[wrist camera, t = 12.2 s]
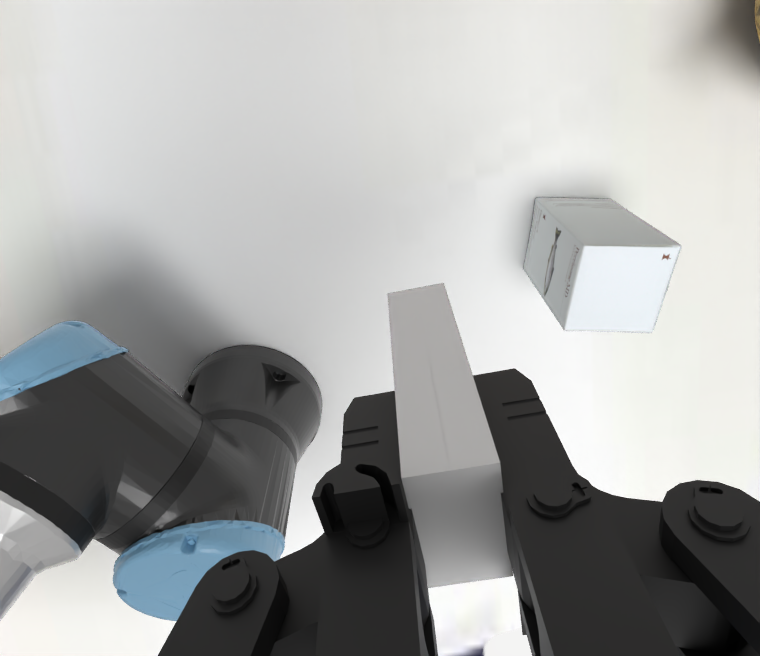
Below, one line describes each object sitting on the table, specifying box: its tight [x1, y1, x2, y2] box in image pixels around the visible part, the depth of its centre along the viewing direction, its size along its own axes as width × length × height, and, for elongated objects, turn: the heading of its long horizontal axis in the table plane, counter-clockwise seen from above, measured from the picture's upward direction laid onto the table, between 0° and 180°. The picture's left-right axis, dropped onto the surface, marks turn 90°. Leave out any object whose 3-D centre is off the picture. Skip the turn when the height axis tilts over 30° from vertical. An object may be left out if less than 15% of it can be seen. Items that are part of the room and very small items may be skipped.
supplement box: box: [523, 197, 681, 333], centre depth 43 cm, size 7×7×13 cm
